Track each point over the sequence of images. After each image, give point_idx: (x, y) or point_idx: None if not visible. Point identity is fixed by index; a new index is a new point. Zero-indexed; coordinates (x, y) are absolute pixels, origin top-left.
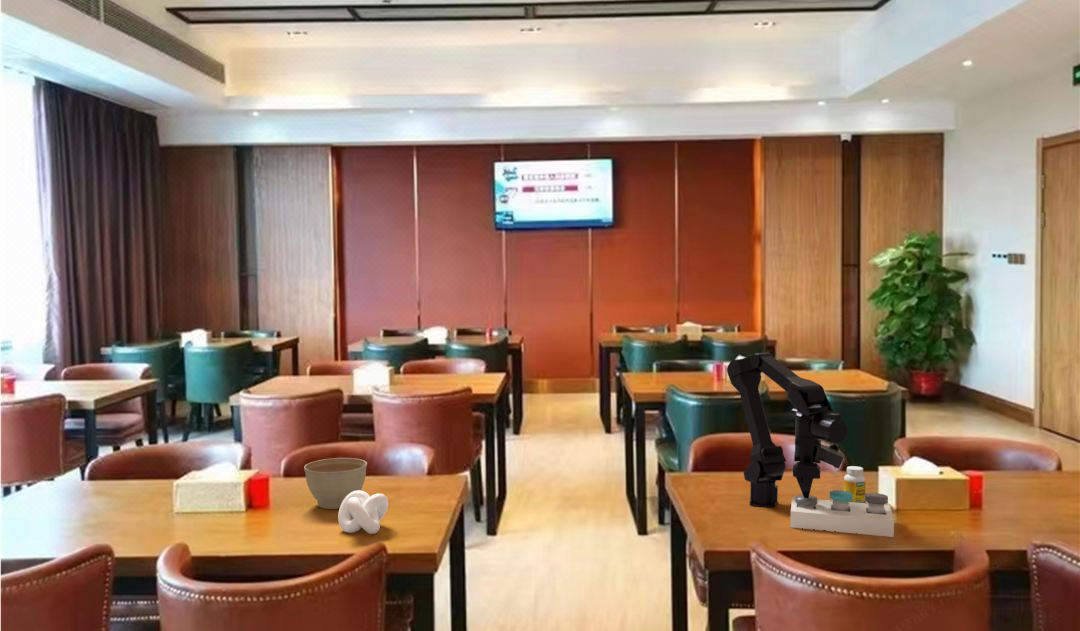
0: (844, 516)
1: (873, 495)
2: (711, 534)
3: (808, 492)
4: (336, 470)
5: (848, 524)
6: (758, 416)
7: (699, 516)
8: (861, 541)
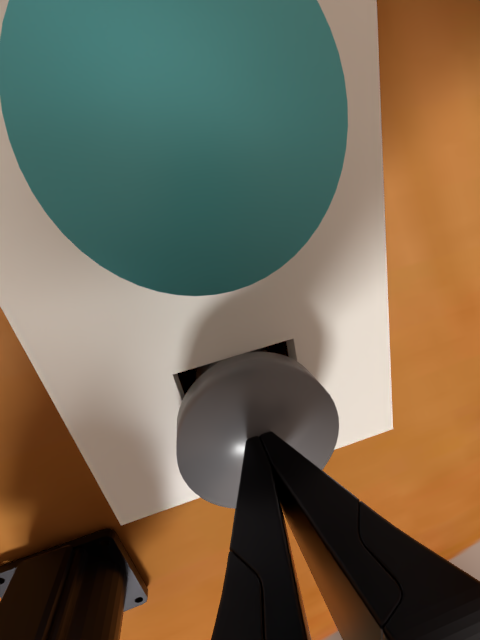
0: (375, 108)
1: None
2: (477, 520)
3: (302, 462)
4: None
5: None
6: None
7: None
8: (426, 18)
